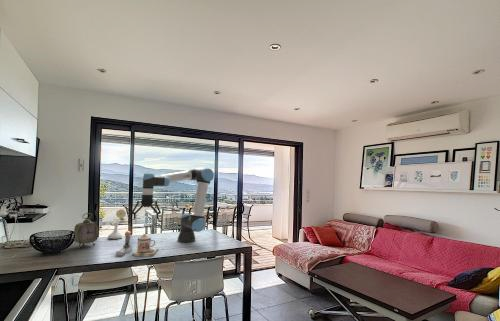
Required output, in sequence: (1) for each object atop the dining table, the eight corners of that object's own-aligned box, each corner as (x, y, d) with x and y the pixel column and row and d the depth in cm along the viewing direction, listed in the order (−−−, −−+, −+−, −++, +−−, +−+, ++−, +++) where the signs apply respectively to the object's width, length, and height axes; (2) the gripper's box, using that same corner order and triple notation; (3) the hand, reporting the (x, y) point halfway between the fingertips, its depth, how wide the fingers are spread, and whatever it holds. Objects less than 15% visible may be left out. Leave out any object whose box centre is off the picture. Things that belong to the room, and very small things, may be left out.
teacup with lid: (136, 252, 181) (137, 235, 182) (136, 249, 190) (137, 233, 191) (154, 251, 186) (156, 235, 187) (154, 248, 194) (155, 232, 195)
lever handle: (131, 245, 194) (132, 230, 195) (129, 247, 190) (130, 231, 190) (125, 245, 194) (126, 230, 194) (122, 247, 189) (123, 231, 190)
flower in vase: (106, 240, 218) (108, 209, 220) (109, 237, 229) (111, 208, 231) (123, 239, 222) (125, 210, 223) (125, 236, 232) (127, 208, 234)
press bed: (158, 250, 195) (158, 248, 195) (153, 256, 181) (153, 253, 182) (138, 250, 194) (139, 247, 194) (132, 255, 180) (132, 253, 180)
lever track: (131, 249, 195) (132, 245, 195) (123, 256, 179) (123, 251, 179) (124, 249, 194) (125, 245, 194) (115, 256, 178) (116, 251, 178)
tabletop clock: (77, 249, 189) (80, 214, 190) (71, 247, 194) (74, 213, 195) (97, 245, 201) (100, 212, 203) (91, 243, 206) (94, 211, 208)
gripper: (165, 194, 200) (163, 222, 199) (129, 193, 191) (127, 222, 190) (165, 194, 193) (163, 224, 192) (128, 194, 184) (126, 224, 183)
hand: (145, 223), depth 191 cm, fingers open, 13 cm apart
